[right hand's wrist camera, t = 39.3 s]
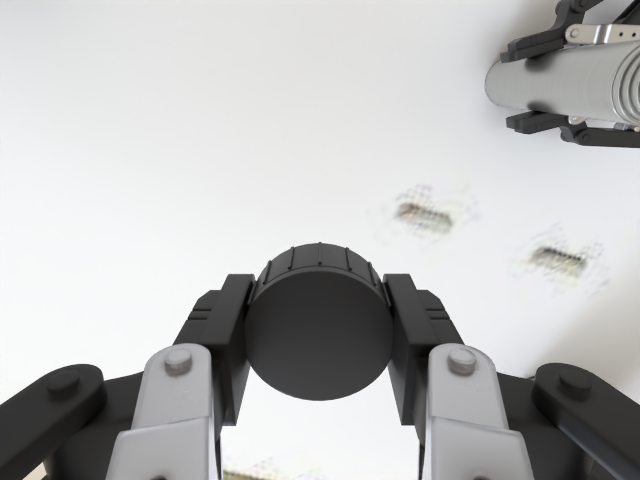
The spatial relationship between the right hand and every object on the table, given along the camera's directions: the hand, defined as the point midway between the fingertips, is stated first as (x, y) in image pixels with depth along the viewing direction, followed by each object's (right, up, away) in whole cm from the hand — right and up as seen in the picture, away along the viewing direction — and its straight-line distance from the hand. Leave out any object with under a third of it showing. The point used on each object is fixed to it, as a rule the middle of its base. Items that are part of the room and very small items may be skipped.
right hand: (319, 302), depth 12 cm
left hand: (+14, +13, +19) cm, 27 cm away
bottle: (+17, +16, +25) cm, 34 cm away
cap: (0, -1, -1) cm, 2 cm away
